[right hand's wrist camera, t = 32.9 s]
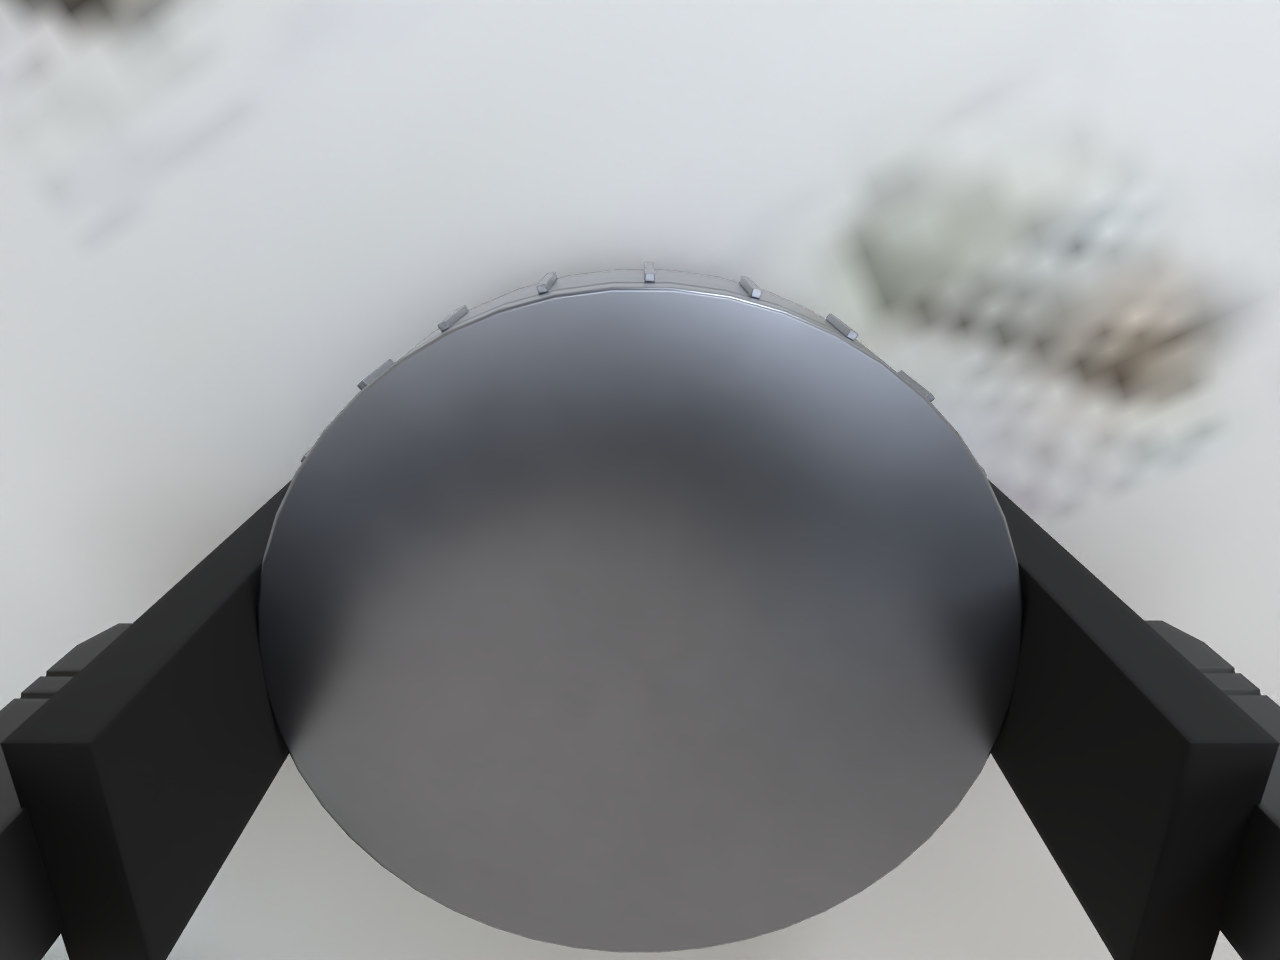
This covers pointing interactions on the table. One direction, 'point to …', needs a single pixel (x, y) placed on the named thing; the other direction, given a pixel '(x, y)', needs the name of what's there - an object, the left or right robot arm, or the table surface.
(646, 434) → the lid
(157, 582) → the table surface
